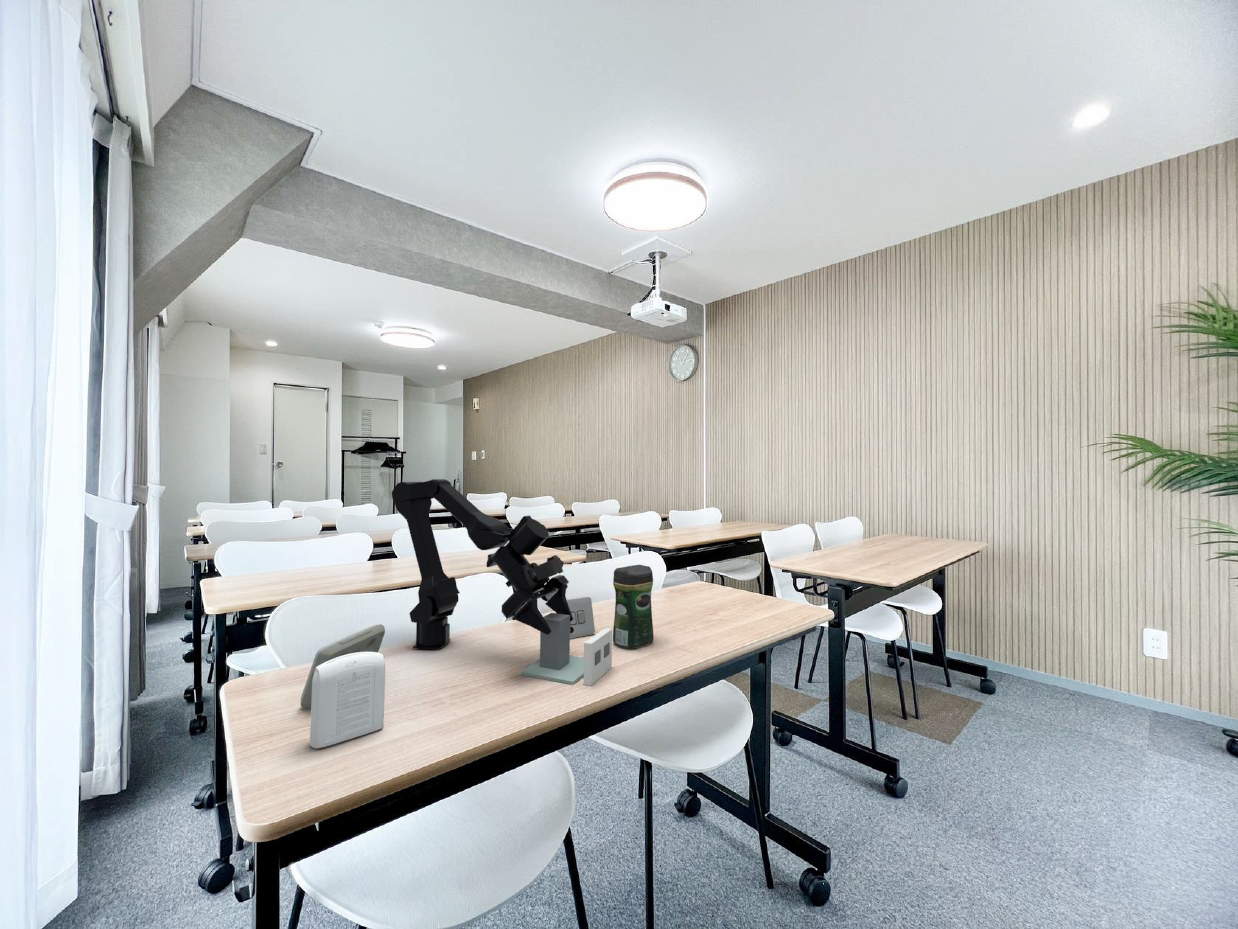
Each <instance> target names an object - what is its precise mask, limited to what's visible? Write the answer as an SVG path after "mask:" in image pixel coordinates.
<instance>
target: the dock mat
mask: <svg viewBox="0 0 1238 929" xmlns="http://www.w3.org/2000/svg"><path fill="white" fill-rule="evenodd" d="M519 674H520V675H521V676H524V677H531V678H534V679H540V680H541V679H542V680H547V681H551V682H556V683H561V684H567V685H572V686H574V685H575V684H576V683H578V682H579V681H580V680H581V679H582V678H584V657H581V656H577V655H576V656H574V655H570V663H568V664H567V665H566V666H564V667H563V668H562V669H560V670H554V669H549V668H543V667H540V658H539V659H538V660H536V661H535V662H533V663H532V664H530V665H529V666H526V668H525V667H524V669H522V670H521V671H520V673H519Z"/></svg>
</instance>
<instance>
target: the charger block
mask: <svg viewBox="0 0 1238 929" xmlns="http://www.w3.org/2000/svg"><path fill="white" fill-rule="evenodd" d="M543 617H544V619H545V620H546V622H547V624H548V625H549V627H550V629H551V633H550V634H549V635H547V634H545V633H543V632H541V631H539V633H540V634H539V635H540V636H539V639H540V641H539V645H540V646H539V659H540V667H543V668H549V669H554V670H560V669H562V668H563V667H564V666H566V665H567V664H568V663H570V656H571V653H570V651H571V650H570V645H571V644H570V643H571V642H570V641H571V639H570V615H565V614H557V613H556V612H550V613H549V614H546V615H543Z"/></svg>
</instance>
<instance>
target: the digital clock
mask: <svg viewBox="0 0 1238 929" xmlns="http://www.w3.org/2000/svg"><path fill="white" fill-rule="evenodd" d="M385 632H386V628H385V626H384V625H383V624H380V623H379V624H374V625H371V626H369V627H366V628H364V629H362V630H360V631H357V632H354V633H352V634H350V635H347V636H345V637H343V638H341V639H338V640H336V641H334V642H332V643H329V644H327V645H325V646H322V647H320V648H319V649H318V650H317V652H316V654H315V656H314V659H313V662H312V663H311V667H310V670H309V673H308V676H307V680H306V681H305V684H304V688H303V690H302V694H301V697H300V707H301V708H302V709H311V702H312V680H313V676H314V670H315V668H316V667H317V666H319V665H321V664H323V663H325V662H327V661H329V660H331V659H334V658H337V657H339V656H343V655H346V654H351V653H357V652H378V653H379V651H380V647H381V644H382V642H383V639H384V636H385Z"/></svg>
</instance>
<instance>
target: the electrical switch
mask: <svg viewBox="0 0 1238 929" xmlns="http://www.w3.org/2000/svg"><path fill="white" fill-rule="evenodd" d="M566 600H567V603H568V606H569V609H570V611H571V614H572V617H573V620H572V621H571V622H570V640H571V639H574V638H575V639H576V638H582V637H586V636H592V635H593V636H594V635H595V633H596V627H595V619H594V618H595V617H594V610H593V603H592V602H593V600H592V598H591V597H590V596H585V597H577V598H570V599H566Z"/></svg>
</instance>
